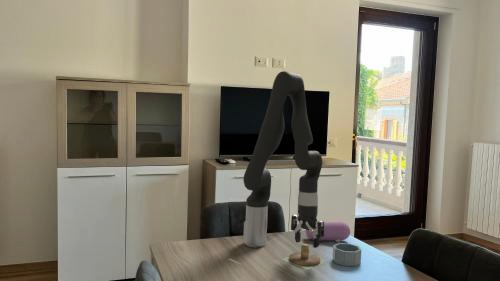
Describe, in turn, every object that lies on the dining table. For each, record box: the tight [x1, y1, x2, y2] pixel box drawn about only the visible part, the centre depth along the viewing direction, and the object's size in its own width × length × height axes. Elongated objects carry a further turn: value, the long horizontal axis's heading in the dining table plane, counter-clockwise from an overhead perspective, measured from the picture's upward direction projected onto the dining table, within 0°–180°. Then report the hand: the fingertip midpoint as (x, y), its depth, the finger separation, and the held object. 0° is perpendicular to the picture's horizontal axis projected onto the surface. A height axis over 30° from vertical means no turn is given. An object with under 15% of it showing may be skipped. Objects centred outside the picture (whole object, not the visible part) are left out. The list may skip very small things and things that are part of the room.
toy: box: [305, 221, 351, 243], centre depth 185 cm, size 8×9×20 cm
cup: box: [332, 242, 362, 267], centre depth 158 cm, size 10×10×6 cm
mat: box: [280, 256, 329, 270], centre depth 158 cm, size 13×13×1 cm
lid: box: [288, 243, 321, 266], centre depth 157 cm, size 12×12×6 cm
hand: (306, 244), depth 157 cm, fingers open, 8 cm apart
